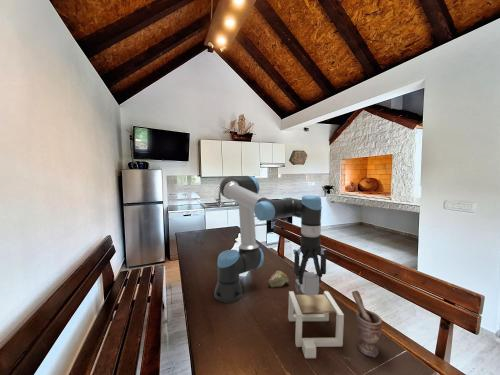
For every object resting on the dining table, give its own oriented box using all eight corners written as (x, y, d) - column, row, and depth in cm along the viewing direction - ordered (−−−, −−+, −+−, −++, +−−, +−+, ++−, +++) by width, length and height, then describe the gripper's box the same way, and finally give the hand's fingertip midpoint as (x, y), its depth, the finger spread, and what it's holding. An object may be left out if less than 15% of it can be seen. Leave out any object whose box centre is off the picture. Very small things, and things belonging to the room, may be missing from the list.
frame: (296, 346, 83) (297, 315, 82) (288, 318, 99) (288, 291, 98) (342, 346, 84) (344, 314, 83) (327, 318, 100) (328, 291, 98)
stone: (301, 288, 90) (301, 272, 89) (312, 288, 90) (313, 271, 90) (305, 295, 85) (306, 278, 84) (317, 294, 85) (318, 277, 85)
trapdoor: (301, 312, 85) (302, 303, 85) (291, 287, 103) (292, 279, 103) (334, 312, 85) (334, 303, 85) (318, 287, 103) (319, 279, 103)
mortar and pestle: (343, 343, 85) (345, 295, 83) (352, 332, 91) (354, 287, 89) (375, 362, 77) (378, 309, 75) (383, 349, 83) (386, 299, 81)
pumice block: (305, 358, 78) (305, 348, 78) (302, 349, 82) (302, 339, 82) (315, 358, 78) (316, 348, 78) (312, 349, 82) (312, 339, 82)
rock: (274, 294, 126) (268, 283, 122) (268, 284, 134) (263, 273, 130) (291, 284, 128) (286, 272, 124) (285, 275, 136) (280, 263, 132)
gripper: (291, 238, 81) (290, 297, 83) (337, 236, 83) (335, 294, 85) (286, 232, 88) (285, 287, 90) (328, 231, 90) (326, 284, 92)
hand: (309, 290), depth 87 cm, fingers closed on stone, 5 cm apart
